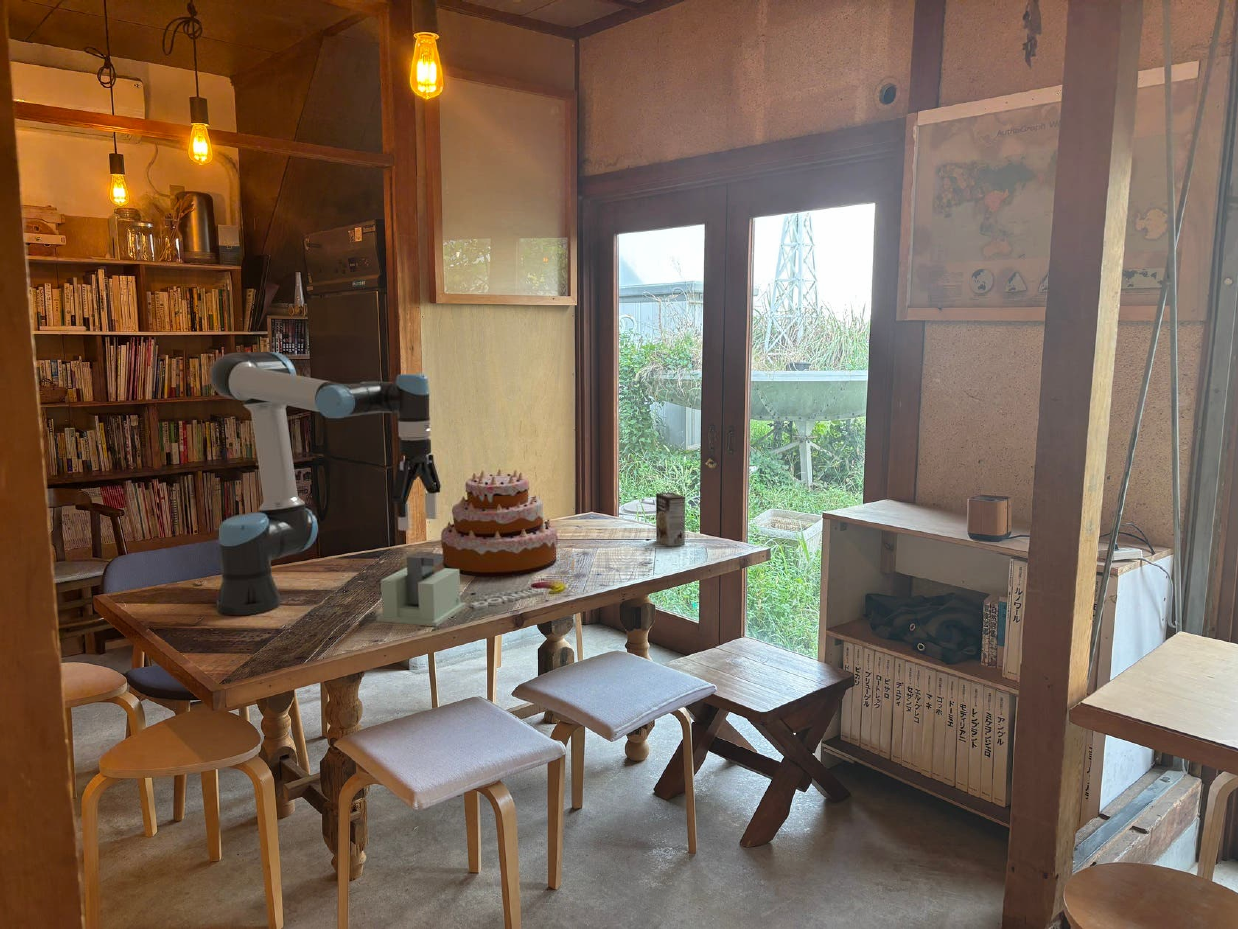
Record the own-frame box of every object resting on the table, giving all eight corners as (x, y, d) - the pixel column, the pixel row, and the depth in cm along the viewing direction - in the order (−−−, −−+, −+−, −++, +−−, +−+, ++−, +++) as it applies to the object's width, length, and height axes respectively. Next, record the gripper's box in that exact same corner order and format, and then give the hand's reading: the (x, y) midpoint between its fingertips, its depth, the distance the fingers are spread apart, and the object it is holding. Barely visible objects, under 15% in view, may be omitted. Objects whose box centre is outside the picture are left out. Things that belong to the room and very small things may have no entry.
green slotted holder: (376, 621, 218) (374, 581, 217) (409, 602, 233) (407, 564, 232) (436, 626, 214) (434, 585, 212) (465, 606, 229) (464, 568, 228)
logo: (551, 579, 251) (572, 586, 243) (551, 583, 251) (572, 590, 244) (458, 600, 232) (478, 608, 225) (458, 604, 233) (478, 613, 225)
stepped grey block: (408, 612, 221) (406, 557, 219) (420, 605, 227) (418, 551, 225) (434, 615, 219) (432, 559, 217) (446, 607, 225) (443, 553, 223)
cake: (572, 570, 264) (571, 476, 260) (453, 583, 251) (449, 485, 247) (539, 544, 296) (538, 461, 292) (432, 554, 284) (429, 467, 280)
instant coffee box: (655, 541, 299) (655, 493, 297) (672, 539, 302) (672, 491, 300) (668, 546, 291) (668, 497, 289) (685, 544, 294) (685, 496, 291)
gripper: (402, 444, 204) (406, 536, 208) (452, 432, 228) (455, 515, 231) (373, 443, 207) (377, 534, 210) (425, 432, 230) (428, 513, 233)
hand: (418, 524), depth 220 cm, fingers open, 13 cm apart
